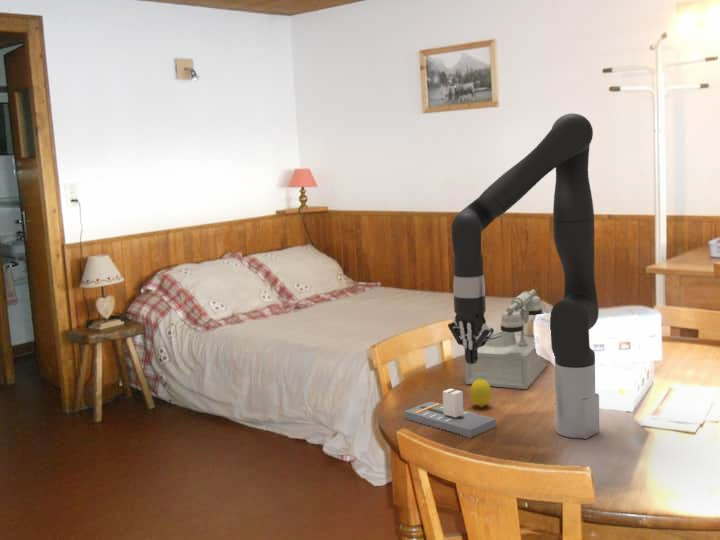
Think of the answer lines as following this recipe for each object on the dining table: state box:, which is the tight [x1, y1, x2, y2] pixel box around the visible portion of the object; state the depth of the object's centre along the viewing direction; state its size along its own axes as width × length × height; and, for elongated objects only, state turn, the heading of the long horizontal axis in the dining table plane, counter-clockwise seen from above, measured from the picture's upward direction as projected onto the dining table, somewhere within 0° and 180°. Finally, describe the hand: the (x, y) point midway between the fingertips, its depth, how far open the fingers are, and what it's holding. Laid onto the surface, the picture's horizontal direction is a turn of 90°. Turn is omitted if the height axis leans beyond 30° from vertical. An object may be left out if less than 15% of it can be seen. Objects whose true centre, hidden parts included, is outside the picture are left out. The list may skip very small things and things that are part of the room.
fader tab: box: [442, 388, 464, 418], centre depth 207 cm, size 4×3×6 cm
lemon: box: [469, 378, 492, 408], centre depth 218 cm, size 6×6×8 cm
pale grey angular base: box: [464, 289, 548, 390], centre depth 245 cm, size 32×20×25 cm, turn 154°
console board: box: [404, 400, 497, 439], centre depth 209 cm, size 22×10×2 cm, turn 42°
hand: (471, 363), depth 200 cm, fingers closed
